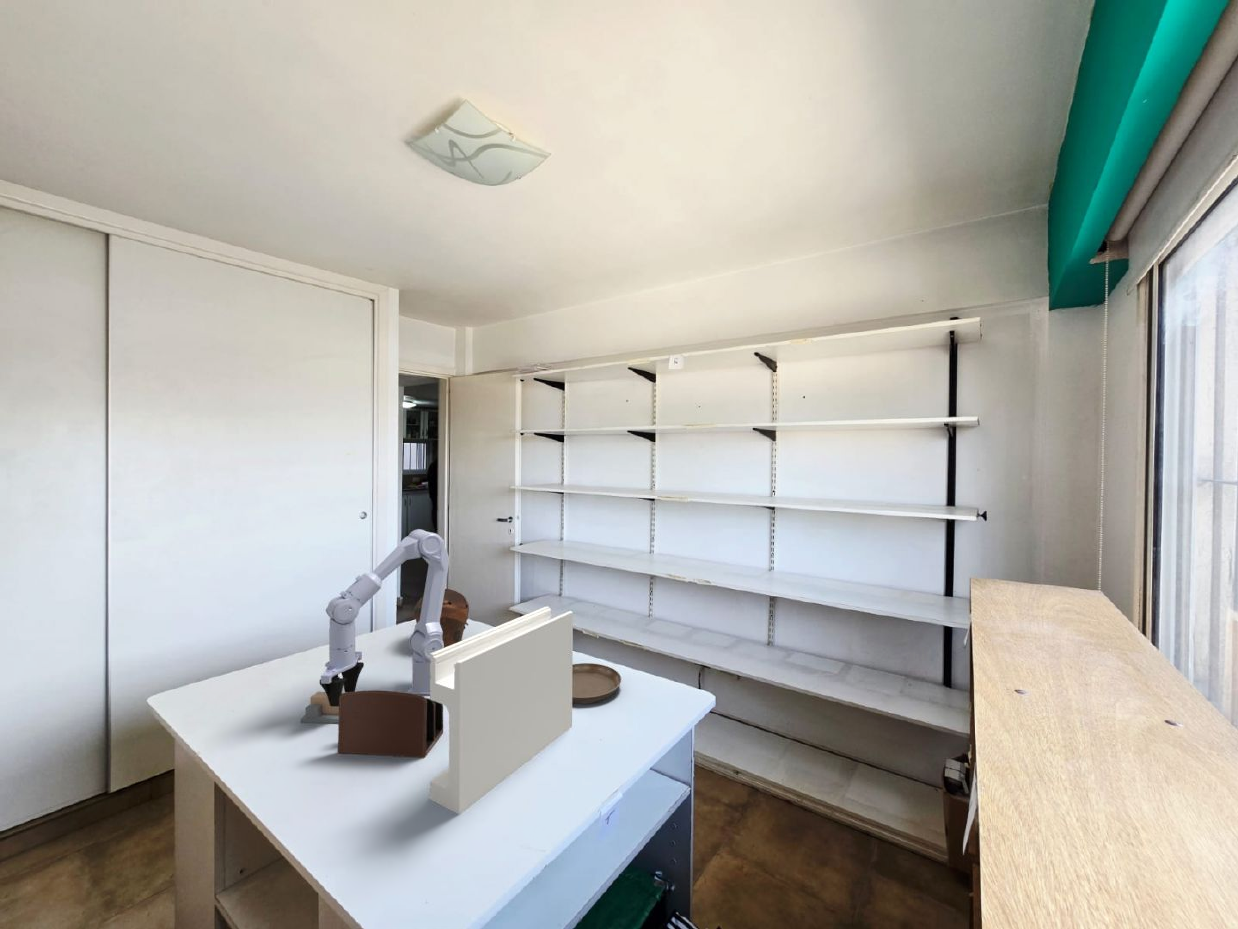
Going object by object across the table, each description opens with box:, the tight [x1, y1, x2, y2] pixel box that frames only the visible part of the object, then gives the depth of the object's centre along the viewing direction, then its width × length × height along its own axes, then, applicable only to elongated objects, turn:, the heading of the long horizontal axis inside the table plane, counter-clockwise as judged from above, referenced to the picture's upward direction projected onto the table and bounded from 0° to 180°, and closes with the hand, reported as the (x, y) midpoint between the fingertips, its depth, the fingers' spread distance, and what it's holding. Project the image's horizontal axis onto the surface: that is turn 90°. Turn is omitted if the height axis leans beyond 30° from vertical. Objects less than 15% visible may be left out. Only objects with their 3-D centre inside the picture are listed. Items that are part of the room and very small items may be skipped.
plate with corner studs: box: [300, 704, 339, 724], centre depth 127 cm, size 16×8×4 cm, turn 88°
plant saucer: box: [572, 662, 622, 705], centre depth 143 cm, size 21×21×3 cm
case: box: [411, 588, 470, 648], centre depth 172 cm, size 18×20×18 cm
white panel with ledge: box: [429, 606, 574, 815], centre depth 110 cm, size 35×8×28 cm, turn 150°
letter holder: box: [337, 689, 444, 758], centre depth 115 cm, size 10×20×14 cm, turn 87°
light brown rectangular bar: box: [309, 691, 346, 714], centre depth 127 cm, size 14×3×4 cm, turn 88°
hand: (342, 699), depth 127 cm, fingers open, 6 cm apart
